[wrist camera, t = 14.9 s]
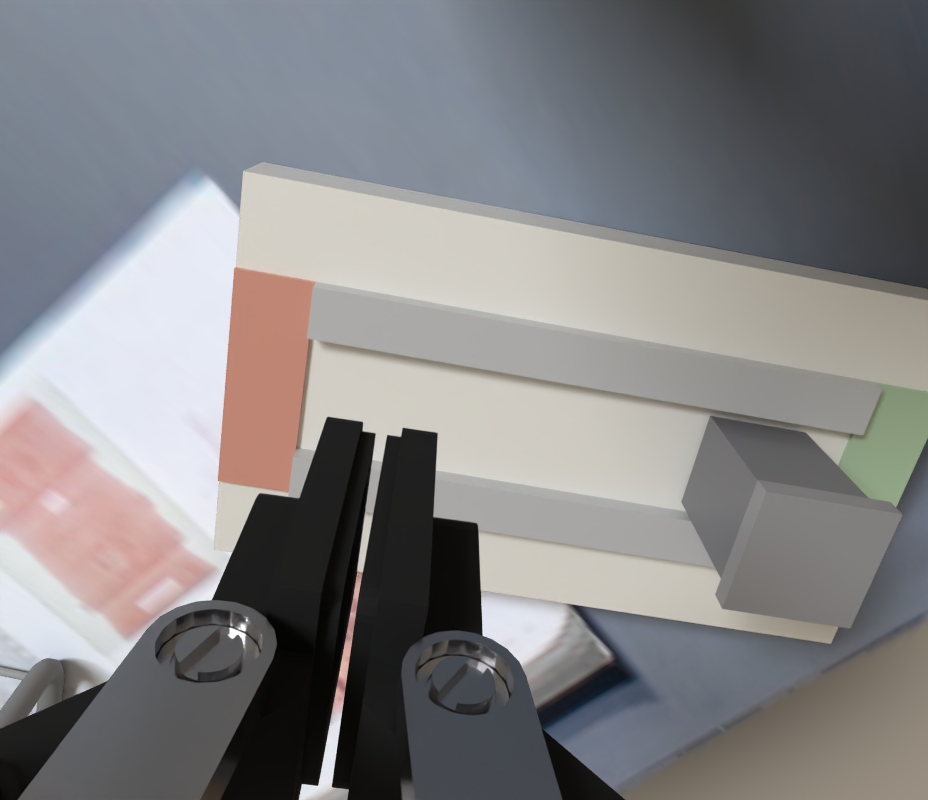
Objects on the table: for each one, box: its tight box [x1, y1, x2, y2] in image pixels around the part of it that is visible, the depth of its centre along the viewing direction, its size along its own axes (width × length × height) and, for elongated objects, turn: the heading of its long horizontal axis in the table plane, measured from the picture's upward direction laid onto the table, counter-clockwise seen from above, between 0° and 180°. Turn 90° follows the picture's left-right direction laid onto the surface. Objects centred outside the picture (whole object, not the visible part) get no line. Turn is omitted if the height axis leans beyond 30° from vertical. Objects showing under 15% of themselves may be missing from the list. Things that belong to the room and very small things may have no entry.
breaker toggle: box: [681, 416, 903, 629], centre depth 29 cm, size 5×5×7 cm
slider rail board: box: [214, 162, 928, 644], centre depth 33 cm, size 16×28×4 cm, turn 79°
